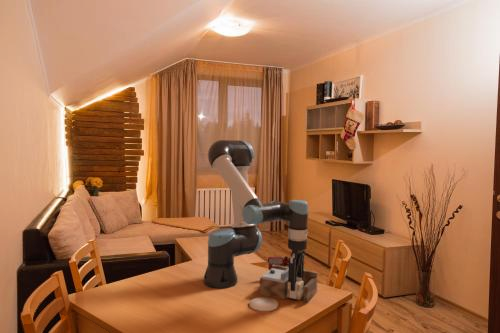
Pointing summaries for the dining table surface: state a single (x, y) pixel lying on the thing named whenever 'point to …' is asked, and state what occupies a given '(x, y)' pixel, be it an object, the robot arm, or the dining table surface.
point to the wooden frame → (282, 288)
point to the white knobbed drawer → (276, 275)
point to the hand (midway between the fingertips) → (295, 295)
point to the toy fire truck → (278, 261)
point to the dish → (263, 304)
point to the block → (299, 289)
